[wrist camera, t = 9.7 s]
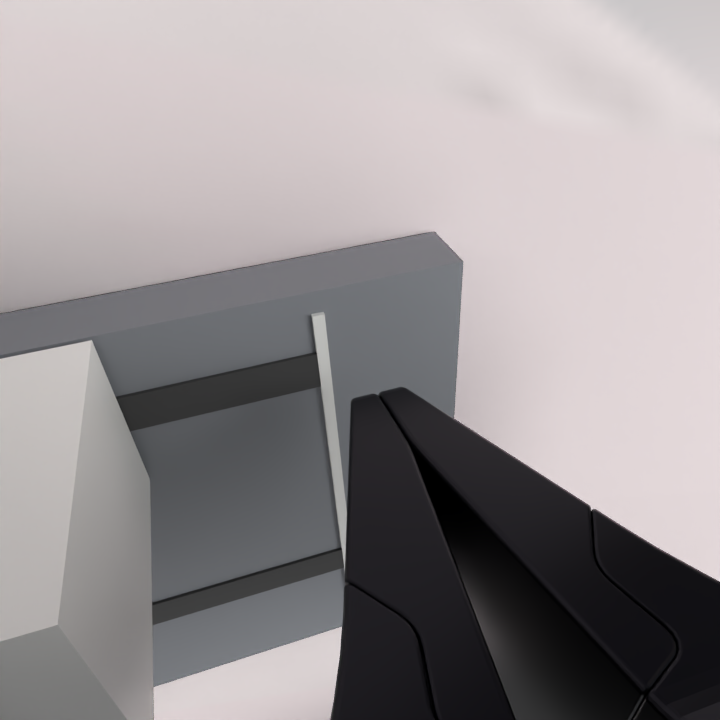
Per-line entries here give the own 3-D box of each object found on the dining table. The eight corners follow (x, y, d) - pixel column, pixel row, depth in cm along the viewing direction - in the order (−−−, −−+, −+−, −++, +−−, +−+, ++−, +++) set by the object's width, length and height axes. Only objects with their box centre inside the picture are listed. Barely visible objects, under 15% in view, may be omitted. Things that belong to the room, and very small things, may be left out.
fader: (150, 479, 10) (154, 765, 7) (2, 517, 10) (-76, 845, 6) (91, 340, 8) (55, 636, 5) (-96, 377, 8) (-282, 735, 4)
